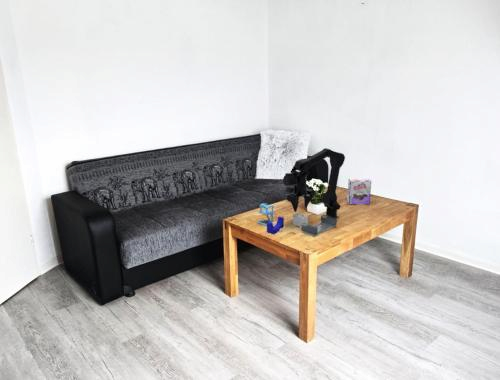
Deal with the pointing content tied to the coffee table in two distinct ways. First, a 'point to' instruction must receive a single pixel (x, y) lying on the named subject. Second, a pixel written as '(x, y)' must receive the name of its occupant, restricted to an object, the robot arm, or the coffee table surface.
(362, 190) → the candy box
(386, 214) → the coffee table surface
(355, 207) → the coffee table surface
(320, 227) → the rail
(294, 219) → the module
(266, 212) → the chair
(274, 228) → the cable clip
